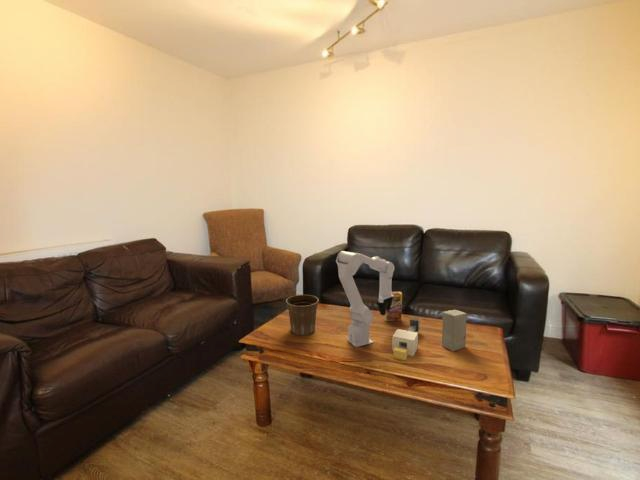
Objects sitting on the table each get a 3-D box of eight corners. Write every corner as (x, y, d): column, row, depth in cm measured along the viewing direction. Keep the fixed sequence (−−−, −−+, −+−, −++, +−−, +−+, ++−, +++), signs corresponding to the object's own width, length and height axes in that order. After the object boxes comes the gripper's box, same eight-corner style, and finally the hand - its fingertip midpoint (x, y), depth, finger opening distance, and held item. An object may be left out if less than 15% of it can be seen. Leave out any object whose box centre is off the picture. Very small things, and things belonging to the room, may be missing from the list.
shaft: (409, 348, 137) (409, 336, 137) (400, 346, 139) (400, 334, 139) (419, 329, 156) (419, 318, 155) (411, 327, 158) (411, 317, 157)
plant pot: (322, 335, 154) (322, 303, 152) (289, 339, 151) (288, 307, 148) (315, 322, 170) (314, 293, 168) (285, 325, 166) (284, 296, 164)
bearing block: (413, 356, 134) (413, 340, 133) (392, 351, 138) (392, 336, 137) (417, 347, 141) (418, 332, 140) (397, 343, 145) (397, 328, 144)
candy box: (385, 321, 169) (386, 294, 167) (383, 318, 173) (383, 291, 171) (401, 320, 170) (402, 293, 168) (398, 317, 174) (399, 290, 172)
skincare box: (453, 352, 137) (454, 316, 134) (440, 345, 143) (441, 311, 140) (466, 347, 140) (468, 313, 138) (453, 340, 147) (454, 307, 144)
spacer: (407, 357, 133) (405, 360, 131) (395, 354, 136) (393, 357, 133) (407, 349, 133) (405, 352, 130) (395, 346, 135) (393, 349, 133)
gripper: (389, 290, 146) (388, 318, 148) (397, 282, 159) (397, 308, 161) (374, 288, 149) (374, 316, 152) (384, 280, 162) (383, 306, 164)
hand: (385, 312), depth 156 cm, fingers open, 7 cm apart
